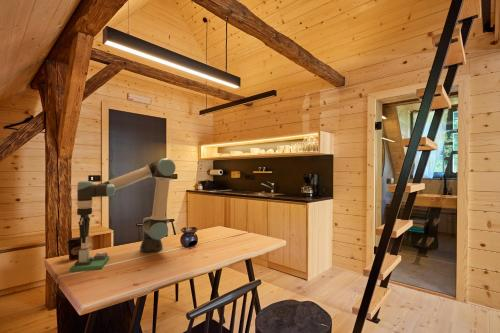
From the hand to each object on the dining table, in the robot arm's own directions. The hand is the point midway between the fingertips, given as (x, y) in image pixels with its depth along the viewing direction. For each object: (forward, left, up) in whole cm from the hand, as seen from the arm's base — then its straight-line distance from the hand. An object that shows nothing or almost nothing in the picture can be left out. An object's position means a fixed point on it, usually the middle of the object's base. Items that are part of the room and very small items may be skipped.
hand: (84, 248), depth 156 cm
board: (-3, -2, -11) cm, 11 cm away
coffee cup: (+10, -17, -11) cm, 23 cm away
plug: (0, 0, -9) cm, 9 cm away
